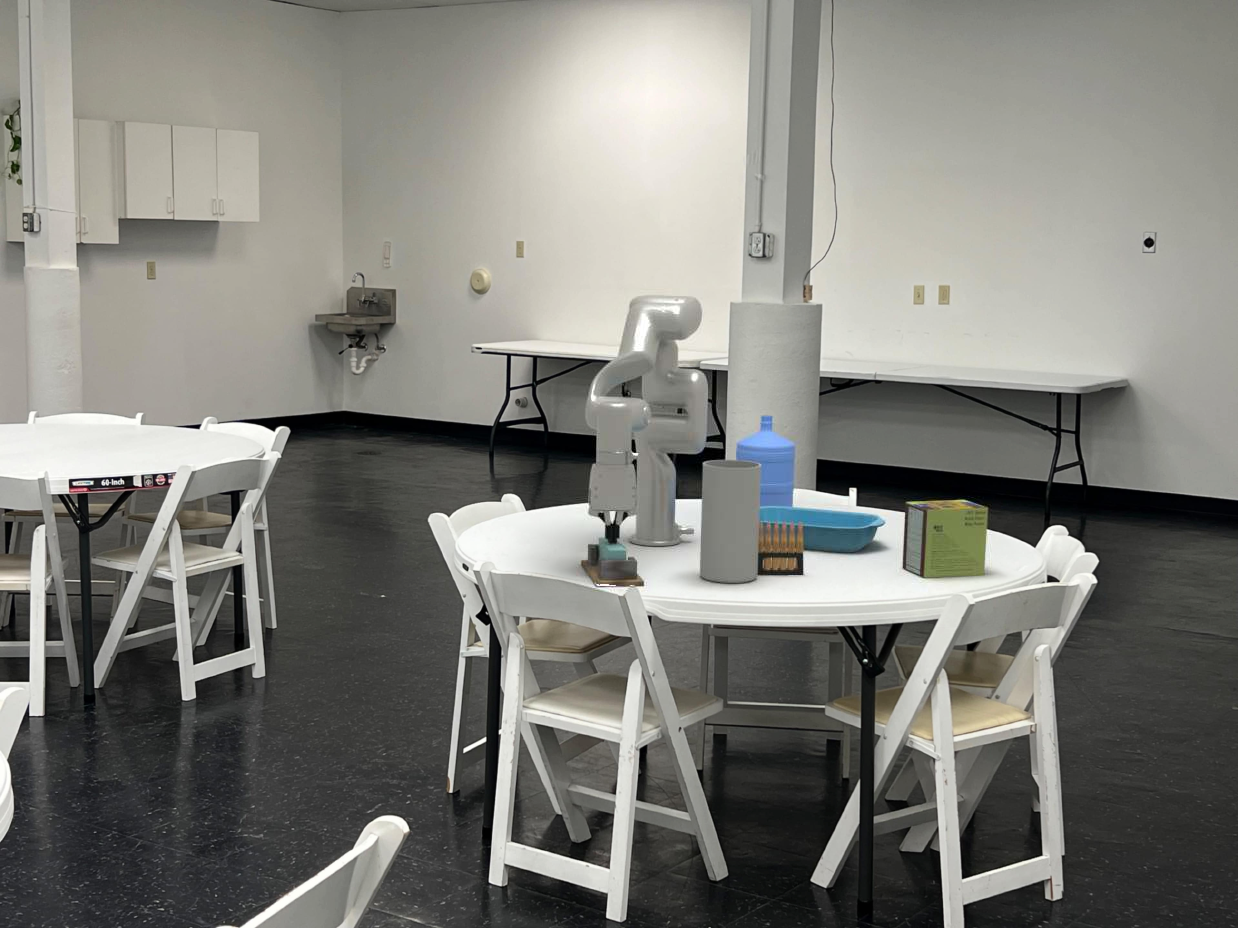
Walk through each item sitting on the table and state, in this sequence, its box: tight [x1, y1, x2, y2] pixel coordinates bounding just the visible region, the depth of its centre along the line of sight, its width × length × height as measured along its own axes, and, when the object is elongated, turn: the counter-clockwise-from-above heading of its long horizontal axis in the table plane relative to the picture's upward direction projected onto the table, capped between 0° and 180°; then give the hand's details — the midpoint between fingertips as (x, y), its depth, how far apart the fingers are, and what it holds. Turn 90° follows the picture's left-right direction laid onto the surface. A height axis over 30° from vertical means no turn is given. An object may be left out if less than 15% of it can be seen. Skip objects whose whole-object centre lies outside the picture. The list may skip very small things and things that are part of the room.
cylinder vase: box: [699, 459, 761, 584], centre depth 303 cm, size 12×12×25 cm
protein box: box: [902, 499, 989, 579], centre depth 314 cm, size 10×15×16 cm
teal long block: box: [598, 537, 627, 560], centre depth 304 cm, size 4×14×6 cm, turn 10°
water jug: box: [735, 414, 796, 507], centre depth 372 cm, size 16×16×28 cm
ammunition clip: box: [757, 521, 805, 576], centre depth 308 cm, size 11×2×12 cm, turn 94°
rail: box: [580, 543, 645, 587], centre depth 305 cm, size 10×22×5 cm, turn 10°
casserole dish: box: [759, 506, 886, 553], centre depth 345 cm, size 37×22×7 cm, turn 66°
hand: (612, 541), depth 304 cm, fingers closed
